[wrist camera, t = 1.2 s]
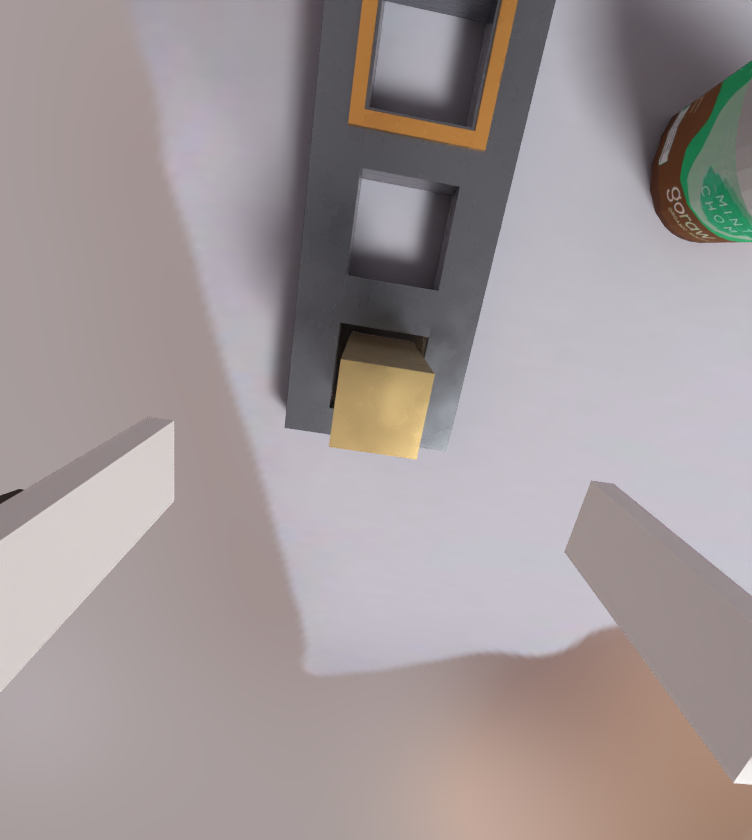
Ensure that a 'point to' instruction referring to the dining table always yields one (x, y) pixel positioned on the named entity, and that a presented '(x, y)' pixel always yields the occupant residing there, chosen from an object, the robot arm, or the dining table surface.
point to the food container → (708, 165)
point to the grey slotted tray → (417, 168)
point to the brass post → (381, 396)
